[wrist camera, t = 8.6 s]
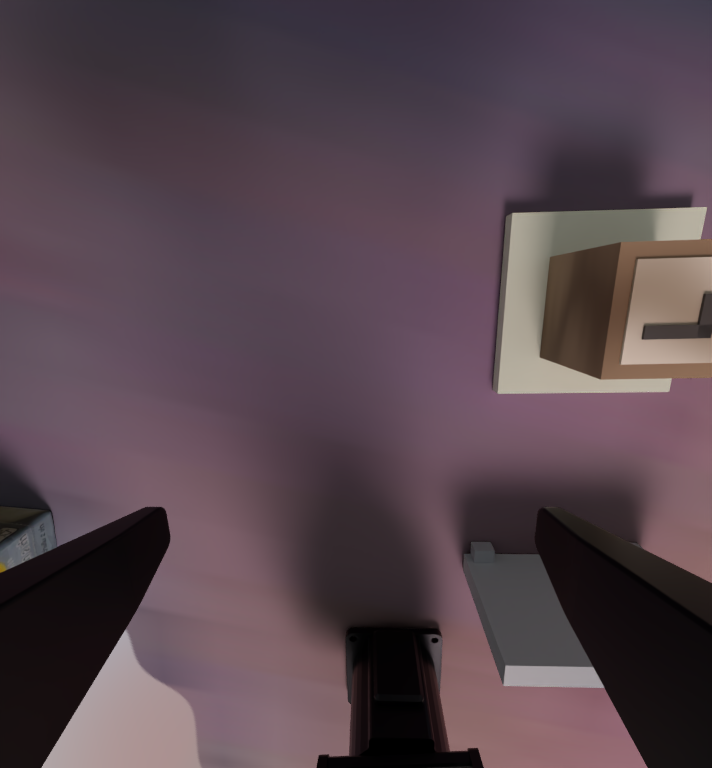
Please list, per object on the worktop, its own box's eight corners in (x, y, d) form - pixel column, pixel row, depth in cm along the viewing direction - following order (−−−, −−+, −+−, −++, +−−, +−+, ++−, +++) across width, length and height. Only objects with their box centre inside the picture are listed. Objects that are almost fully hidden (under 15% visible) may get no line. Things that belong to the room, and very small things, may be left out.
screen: (634, 582, 23) (749, 705, 16) (462, 581, 23) (501, 700, 16) (643, 542, 22) (766, 653, 15) (464, 541, 22) (507, 649, 15)
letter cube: (637, 355, 18) (740, 378, 13) (539, 357, 18) (604, 380, 13) (654, 253, 17) (775, 236, 12) (550, 257, 17) (625, 241, 12)
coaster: (657, 387, 19) (669, 391, 19) (492, 389, 20) (497, 393, 19) (691, 211, 17) (707, 207, 16) (505, 216, 18) (512, 212, 17)
